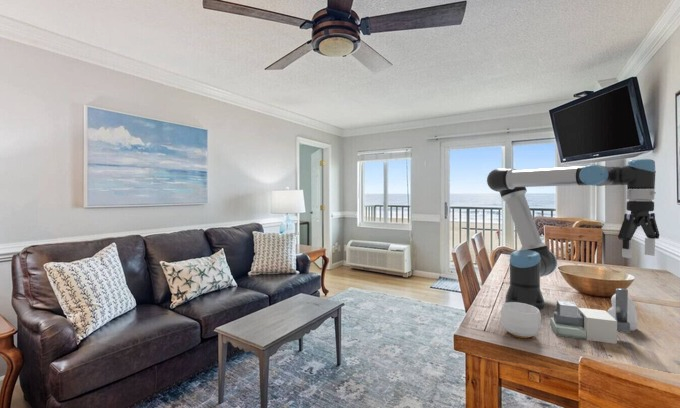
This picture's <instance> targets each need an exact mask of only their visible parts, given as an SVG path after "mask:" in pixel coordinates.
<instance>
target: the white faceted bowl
mask: <svg viewBox="0 0 680 408" xmlns="http://www.w3.org/2000/svg"><path fill="white" fill-rule="evenodd" d="M500 320H501V324H502V326H503V328H504V329H505V330H506V331H507V332H508V333H510V334H511V335H512V336H514V337H515V338H520V339H529V338H530V337H534V336H537V334H538V333H539V332H540V329H541V326H542V314H541V311H540V309H538V308H536V307H534V306H532V305H528V304H525V303H518V302H504V303H502V306H501V309H500Z"/></svg>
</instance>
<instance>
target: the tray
mask: <svg viewBox="0 0 680 408" xmlns="http://www.w3.org/2000/svg"><path fill="white" fill-rule="evenodd" d="M549 319H550V320H549V325H550V326H551V329H552V331H553V332H554V334H555V335H556V336H558V337H564V338H565V337H566V338H571V339H579V340H580V339H581V340H585V341H586V331H585V330H580V329H579V328H578V326H572V325H564V324H556V323H555V321H554V316H552V317H551V316H550V318H549Z"/></svg>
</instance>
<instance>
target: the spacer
mask: <svg viewBox="0 0 680 408" xmlns="http://www.w3.org/2000/svg"><path fill="white" fill-rule="evenodd" d="M556 312H558V314H559V315H560V316H565V317H573V318H577V314H578V305H576V303H575V302H574V301H567V300H556Z"/></svg>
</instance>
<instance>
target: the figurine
mask: <svg viewBox="0 0 680 408" xmlns="http://www.w3.org/2000/svg"><path fill="white" fill-rule="evenodd" d="M610 303H611V307H610V308H609V309H607V313H608V314H610V315H611V316H612V317H613V318H614V319H615V312H616V293H614V294H613V295H612V296H611V299H610ZM627 321H628V322H629V323H630V331H636V330H637V327H638V313H637V311H636V305H635V303H634V301H633V299H632V298H631V297H630V296H629V295H628V314H627Z"/></svg>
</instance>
